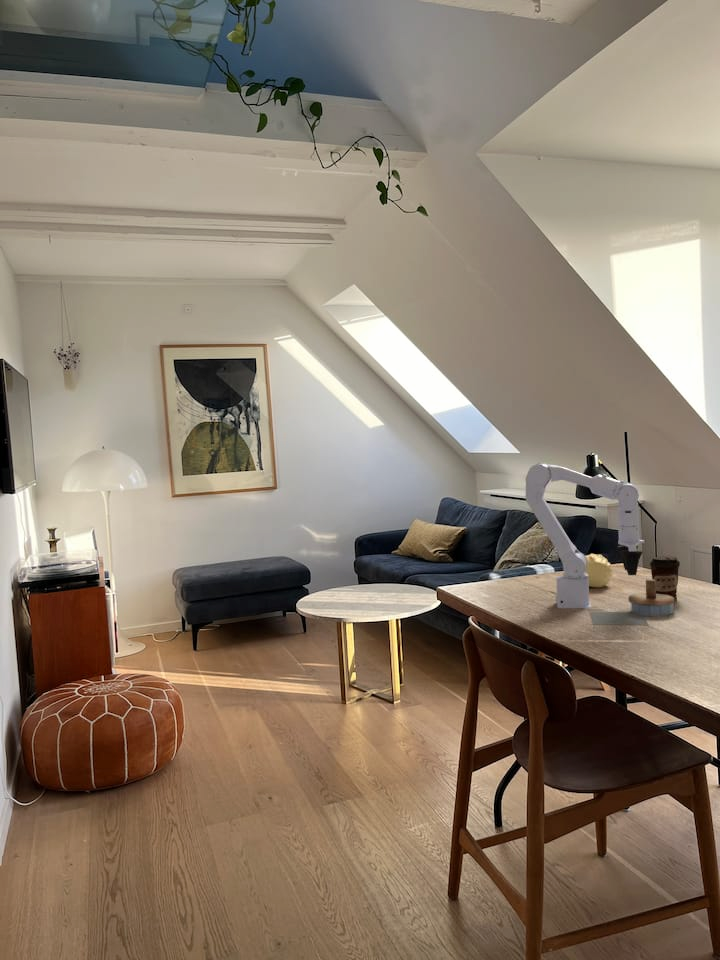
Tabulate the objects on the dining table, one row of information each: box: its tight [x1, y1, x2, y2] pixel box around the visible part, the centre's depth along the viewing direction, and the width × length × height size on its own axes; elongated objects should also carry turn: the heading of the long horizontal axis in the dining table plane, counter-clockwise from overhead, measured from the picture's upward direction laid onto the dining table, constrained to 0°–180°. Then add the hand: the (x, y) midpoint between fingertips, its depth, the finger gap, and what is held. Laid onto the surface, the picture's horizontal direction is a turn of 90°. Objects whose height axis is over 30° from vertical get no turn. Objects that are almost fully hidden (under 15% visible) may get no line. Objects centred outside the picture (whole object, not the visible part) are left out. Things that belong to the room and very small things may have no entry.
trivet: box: [588, 611, 650, 626], centre depth 210 cm, size 14×14×1 cm
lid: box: [627, 578, 675, 606], centre depth 215 cm, size 12×12×6 cm
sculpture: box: [585, 553, 613, 588], centre depth 254 cm, size 12×12×11 cm
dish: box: [630, 602, 675, 617], centre depth 215 cm, size 11×11×4 cm
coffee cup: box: [649, 556, 681, 602], centre depth 228 cm, size 9×8×13 cm
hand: (630, 572), depth 221 cm, fingers open, 7 cm apart
